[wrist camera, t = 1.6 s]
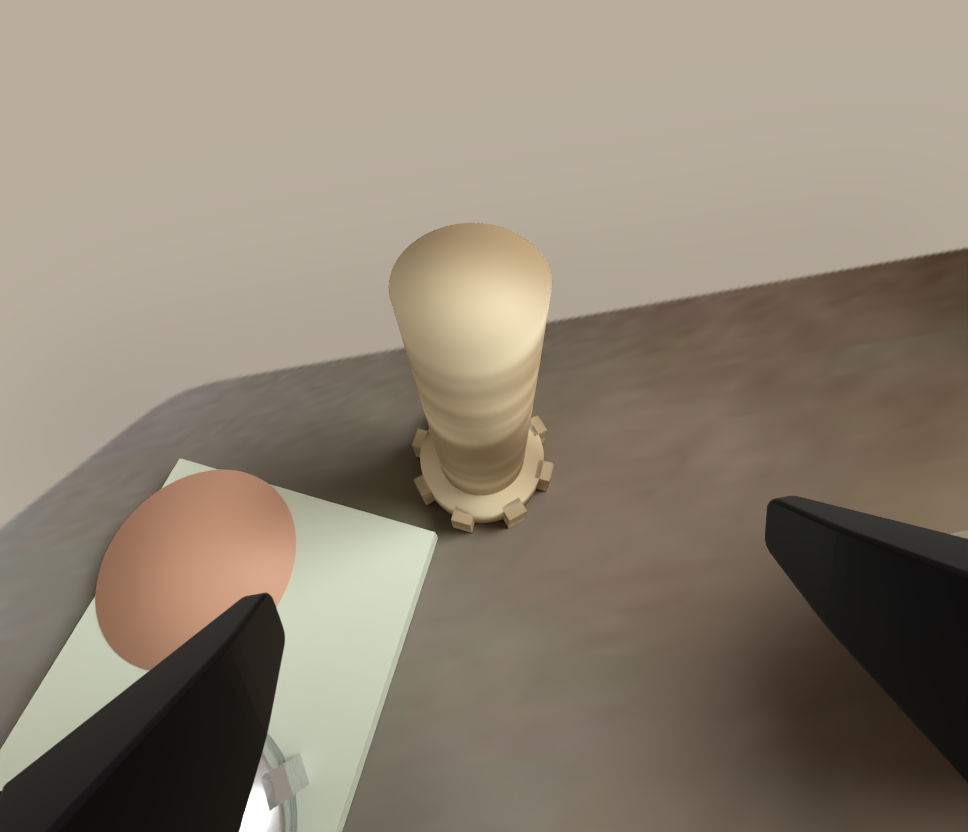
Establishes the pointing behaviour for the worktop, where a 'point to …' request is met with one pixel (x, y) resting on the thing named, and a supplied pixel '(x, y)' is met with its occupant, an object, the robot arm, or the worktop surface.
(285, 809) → the gear
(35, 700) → the board
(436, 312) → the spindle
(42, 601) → the worktop surface
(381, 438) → the worktop surface
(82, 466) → the worktop surface
